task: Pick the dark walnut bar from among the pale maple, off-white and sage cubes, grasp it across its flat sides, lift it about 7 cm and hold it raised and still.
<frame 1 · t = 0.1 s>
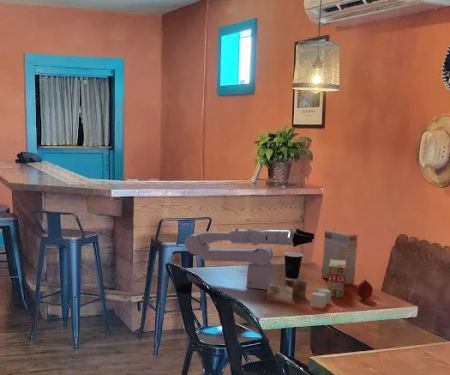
hand: (313, 237, 238), 22 cm above the table, tool horizontal, fingers open, 7 cm apart
cracker box: (337, 281, 261), on the table, touching stack of blocks
maple block: (273, 299, 229), on the table
dixie cup: (291, 280, 259), on the table
sage block: (322, 302, 228), on the table
onion: (363, 300, 234), on the table
white block: (318, 306, 223), on the table
walnut bar: (298, 298, 232), on the table
stack of blocks: (335, 291, 245), on the table, touching cracker box
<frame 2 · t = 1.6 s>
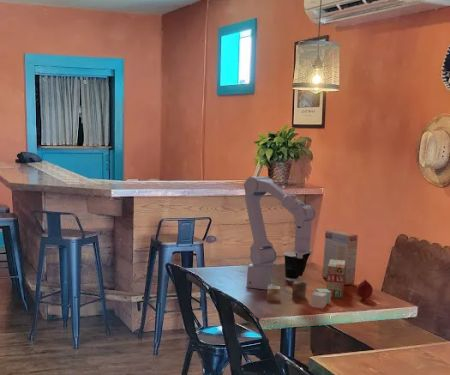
hand: (300, 273, 231), 9 cm above the table, tool pointing down, fingers open, 7 cm apart
nothing on the table moved.
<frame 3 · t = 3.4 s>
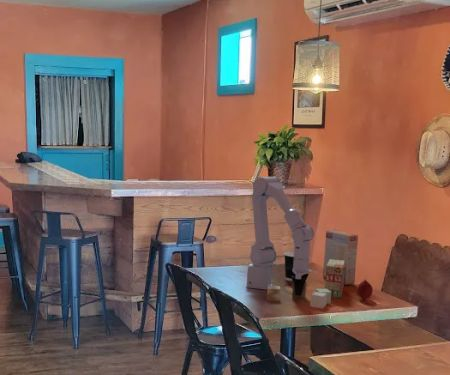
hand: (299, 293, 231), 2 cm above the table, tool pointing down, fingers closed on walnut bar, 4 cm apart
walnut bar: (298, 298, 232), on the table, touching gripper
everything else where it was.
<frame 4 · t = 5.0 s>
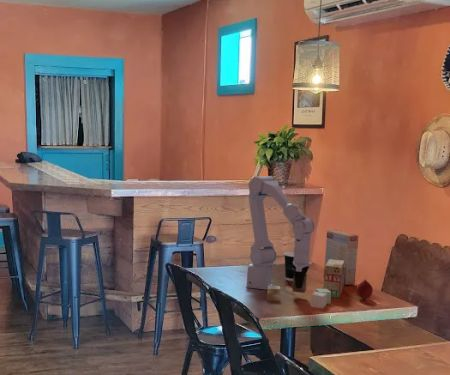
hand: (299, 286, 231), 5 cm above the table, tool pointing down, fingers closed on walnut bar, 4 cm apart
walnut bar: (299, 290, 231), point 3 cm above the table, touching gripper
everything else where it was.
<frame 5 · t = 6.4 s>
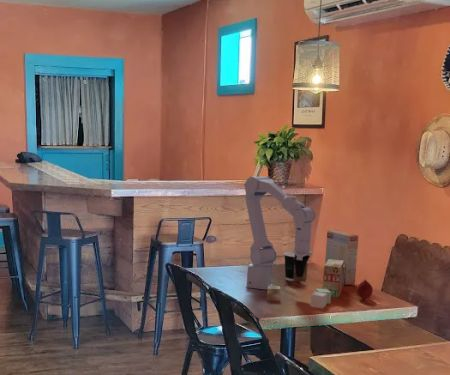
hand: (300, 275, 231), 9 cm above the table, tool pointing down, fingers closed on walnut bar, 4 cm apart
walnut bar: (299, 279, 231), point 7 cm above the table, touching gripper
everything else where it was.
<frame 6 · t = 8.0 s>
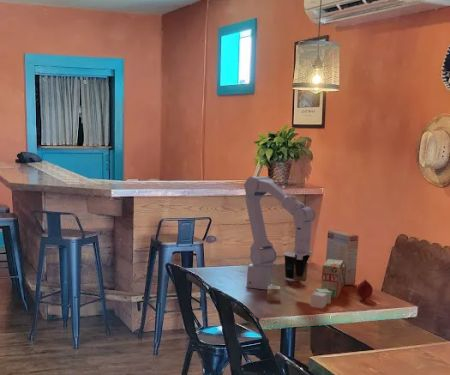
hand: (300, 274, 231), 9 cm above the table, tool pointing down, fingers closed on walnut bar, 4 cm apart
walnut bar: (299, 279, 231), point 7 cm above the table, touching gripper
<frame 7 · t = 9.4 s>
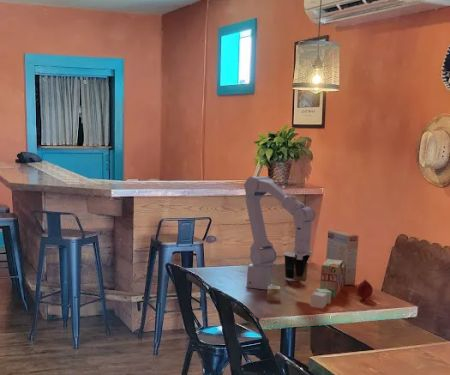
hand: (300, 274, 231), 9 cm above the table, tool pointing down, fingers closed on walnut bar, 4 cm apart
walnut bar: (299, 279, 231), point 7 cm above the table, touching gripper
at the end: the gripper is holding walnut bar; walnut bar point 7.2 cm above the table; sage block moved 0.3 cm from its start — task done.
